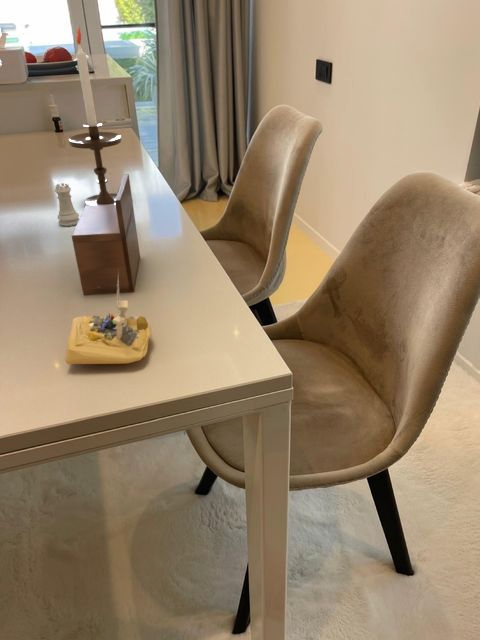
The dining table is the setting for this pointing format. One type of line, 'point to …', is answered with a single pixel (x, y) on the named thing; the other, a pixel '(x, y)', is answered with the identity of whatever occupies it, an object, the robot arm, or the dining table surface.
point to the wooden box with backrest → (108, 245)
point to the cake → (108, 338)
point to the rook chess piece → (66, 206)
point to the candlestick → (93, 133)
